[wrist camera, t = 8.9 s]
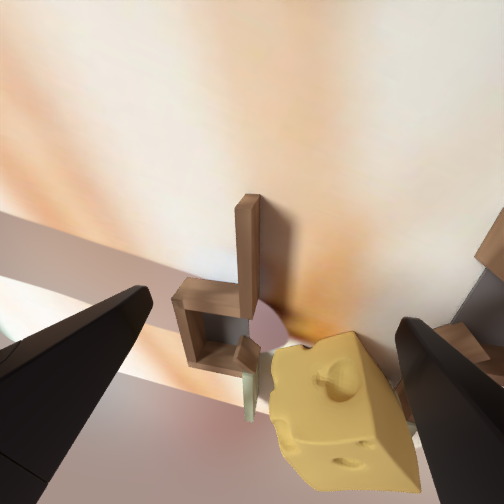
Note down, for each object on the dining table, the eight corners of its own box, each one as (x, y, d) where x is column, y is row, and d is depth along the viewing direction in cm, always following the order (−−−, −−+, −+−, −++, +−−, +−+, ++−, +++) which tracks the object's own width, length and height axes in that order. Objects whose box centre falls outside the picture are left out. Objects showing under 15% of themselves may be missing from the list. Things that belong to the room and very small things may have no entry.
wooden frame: (658, 216, 14) (761, 245, 11) (443, 434, 30) (459, 472, 27) (169, 189, 20) (143, 203, 17) (208, 383, 36) (198, 409, 33)
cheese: (272, 348, 29) (258, 444, 20) (358, 325, 24) (385, 439, 15) (313, 393, 32) (314, 493, 23) (395, 382, 27) (434, 501, 19)
